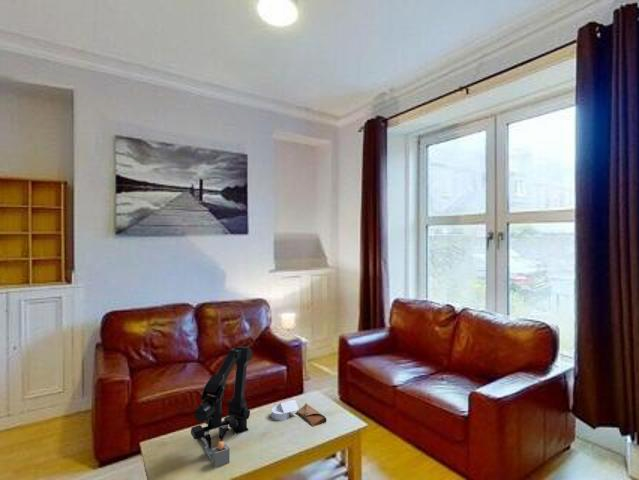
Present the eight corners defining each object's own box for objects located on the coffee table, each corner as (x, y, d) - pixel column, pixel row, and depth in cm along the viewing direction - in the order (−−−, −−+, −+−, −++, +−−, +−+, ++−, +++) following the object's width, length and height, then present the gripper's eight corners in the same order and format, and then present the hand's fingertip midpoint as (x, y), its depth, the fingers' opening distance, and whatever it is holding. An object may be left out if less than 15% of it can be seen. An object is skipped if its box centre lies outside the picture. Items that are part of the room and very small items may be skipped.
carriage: (219, 447, 163) (219, 432, 163) (224, 454, 159) (224, 439, 158) (204, 452, 160) (204, 437, 159) (209, 460, 155) (209, 444, 155)
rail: (207, 436, 173) (207, 432, 173) (223, 457, 157) (223, 452, 157) (197, 439, 170) (197, 435, 170) (212, 461, 154) (212, 457, 154)
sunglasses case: (293, 412, 196) (299, 400, 198) (302, 415, 200) (308, 403, 202) (313, 427, 182) (318, 413, 184) (322, 430, 186) (328, 417, 187)
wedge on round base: (291, 408, 201) (268, 414, 194) (291, 396, 201) (269, 401, 194) (298, 415, 193) (276, 422, 187) (299, 403, 193) (276, 408, 186)
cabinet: (225, 457, 157) (225, 443, 157) (229, 462, 154) (229, 448, 153) (211, 463, 153) (211, 448, 153) (215, 468, 150) (215, 453, 150)
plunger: (222, 447, 155) (222, 440, 155) (224, 450, 153) (224, 443, 153) (217, 449, 154) (217, 442, 153) (219, 452, 152) (219, 444, 152)
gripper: (228, 397, 171) (227, 431, 171) (186, 409, 160) (186, 444, 160) (238, 407, 162) (237, 442, 162) (195, 419, 151) (194, 457, 151)
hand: (214, 446), depth 159 cm, fingers closed on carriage, 4 cm apart
